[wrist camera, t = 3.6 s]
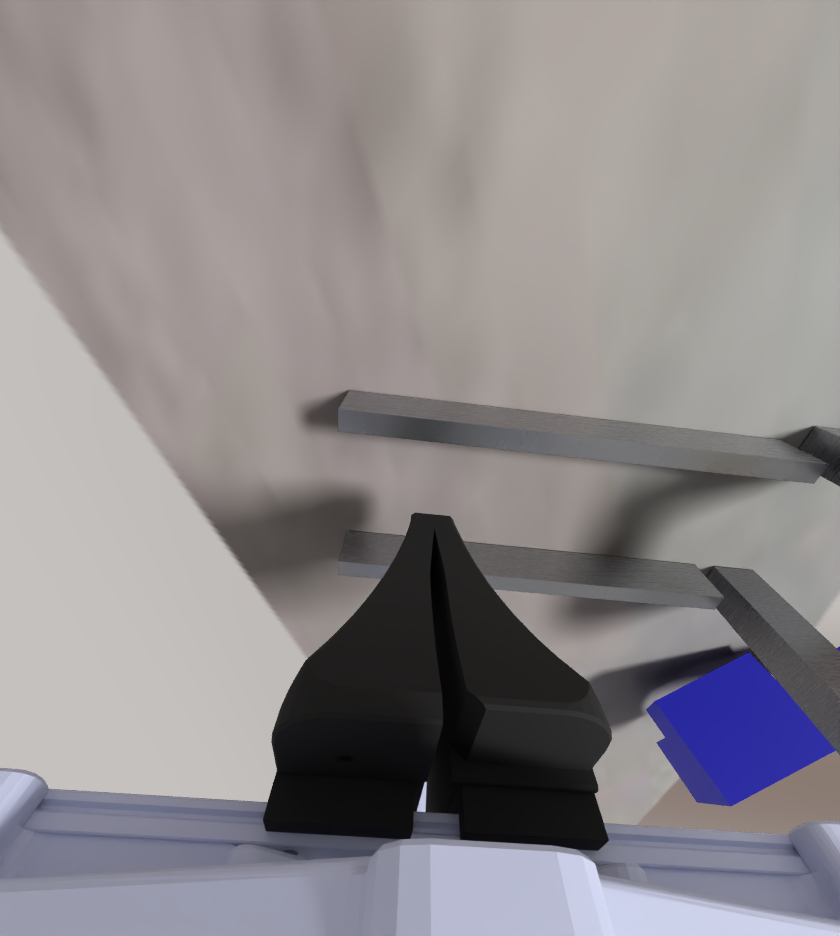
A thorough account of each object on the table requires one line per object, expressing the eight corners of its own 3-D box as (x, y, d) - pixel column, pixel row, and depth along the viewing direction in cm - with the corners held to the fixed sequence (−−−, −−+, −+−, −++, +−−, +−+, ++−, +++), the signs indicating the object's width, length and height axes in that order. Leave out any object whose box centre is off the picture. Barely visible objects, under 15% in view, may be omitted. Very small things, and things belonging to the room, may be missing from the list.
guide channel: (686, 576, 18) (714, 609, 16) (346, 543, 17) (338, 574, 15) (779, 439, 14) (829, 464, 12) (349, 390, 13) (337, 409, 12)
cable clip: (654, 701, 20) (638, 716, 24) (731, 806, 17) (696, 802, 21) (841, 604, 20) (793, 636, 24) (950, 688, 17) (873, 708, 21)
